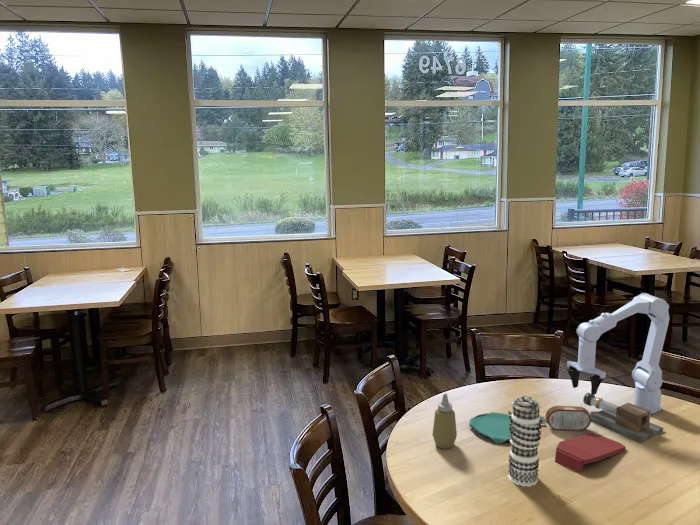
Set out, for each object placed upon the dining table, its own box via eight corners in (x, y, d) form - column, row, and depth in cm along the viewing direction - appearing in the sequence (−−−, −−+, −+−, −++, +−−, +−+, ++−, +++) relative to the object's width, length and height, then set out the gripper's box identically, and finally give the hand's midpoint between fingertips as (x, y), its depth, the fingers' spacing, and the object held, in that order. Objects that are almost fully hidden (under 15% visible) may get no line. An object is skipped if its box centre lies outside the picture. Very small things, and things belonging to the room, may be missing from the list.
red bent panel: (590, 445, 189) (549, 459, 174) (592, 431, 189) (551, 444, 174) (625, 460, 180) (584, 476, 165) (627, 445, 179) (587, 460, 164)
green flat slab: (458, 425, 198) (458, 419, 197) (519, 408, 212) (519, 402, 211) (497, 450, 180) (497, 444, 180) (561, 430, 194) (561, 423, 194)
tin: (588, 428, 194) (590, 405, 192) (591, 432, 191) (593, 409, 189) (544, 426, 195) (545, 404, 194) (546, 431, 192) (547, 408, 191)
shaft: (590, 402, 208) (590, 391, 208) (635, 420, 193) (636, 409, 193) (582, 405, 206) (583, 394, 205) (628, 423, 191) (629, 412, 190)
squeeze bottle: (459, 441, 186) (460, 391, 183) (453, 453, 179) (454, 401, 175) (436, 436, 189) (436, 387, 186) (429, 448, 182) (429, 396, 179)
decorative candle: (535, 490, 157) (539, 409, 153) (503, 481, 162) (505, 402, 158) (542, 475, 165) (546, 397, 160) (511, 467, 170) (514, 390, 165)
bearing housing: (609, 409, 207) (610, 391, 206) (662, 430, 191) (664, 411, 189) (586, 419, 200) (587, 400, 199) (639, 442, 183) (641, 422, 182)
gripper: (562, 352, 205) (560, 386, 207) (598, 363, 193) (595, 400, 195) (574, 348, 208) (572, 382, 211) (610, 359, 196) (607, 395, 199)
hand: (584, 390), depth 203 cm, fingers open, 7 cm apart
